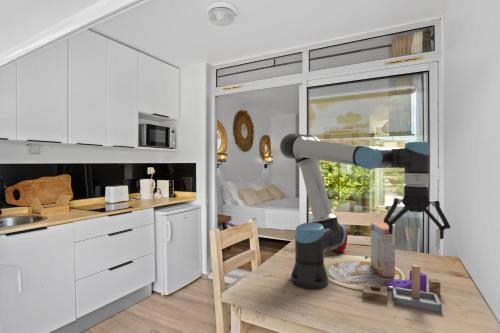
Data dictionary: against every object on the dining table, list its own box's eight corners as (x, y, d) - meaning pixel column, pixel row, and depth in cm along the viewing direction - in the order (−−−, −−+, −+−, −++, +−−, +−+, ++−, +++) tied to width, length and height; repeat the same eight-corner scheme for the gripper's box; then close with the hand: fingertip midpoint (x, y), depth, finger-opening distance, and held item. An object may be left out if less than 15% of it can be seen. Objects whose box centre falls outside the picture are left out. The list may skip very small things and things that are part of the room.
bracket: (414, 285, 114) (414, 268, 114) (426, 293, 107) (426, 275, 107) (386, 286, 113) (386, 269, 113) (396, 294, 106) (396, 276, 106)
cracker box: (395, 277, 121) (396, 229, 121) (381, 277, 122) (381, 228, 121) (383, 265, 135) (383, 222, 135) (370, 265, 136) (370, 221, 135)
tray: (393, 303, 99) (394, 297, 99) (392, 293, 107) (392, 286, 107) (441, 312, 93) (441, 305, 93) (436, 300, 101) (436, 293, 101)
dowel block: (363, 298, 103) (363, 291, 103) (363, 289, 110) (363, 282, 110) (387, 302, 100) (387, 295, 99) (386, 293, 107) (386, 286, 107)
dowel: (411, 300, 99) (412, 267, 99) (410, 297, 102) (411, 264, 101) (420, 302, 98) (420, 268, 98) (419, 298, 101) (419, 265, 100)
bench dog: (430, 294, 105) (430, 281, 105) (428, 290, 109) (429, 277, 109) (440, 296, 104) (440, 282, 104) (438, 291, 108) (438, 278, 108)
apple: (324, 248, 162) (324, 225, 161) (341, 247, 163) (341, 224, 163) (333, 254, 151) (333, 229, 151) (351, 253, 153) (351, 228, 153)
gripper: (377, 184, 101) (376, 243, 102) (462, 188, 91) (460, 253, 91) (377, 183, 108) (376, 238, 108) (456, 186, 98) (454, 246, 98)
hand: (414, 245), depth 100 cm, fingers open, 13 cm apart
